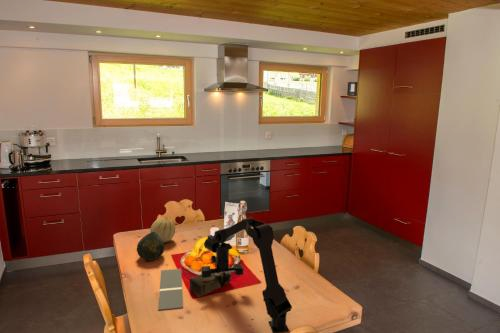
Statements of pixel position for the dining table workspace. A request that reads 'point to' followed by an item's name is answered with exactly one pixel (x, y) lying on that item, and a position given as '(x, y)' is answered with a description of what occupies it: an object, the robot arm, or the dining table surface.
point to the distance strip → (170, 290)
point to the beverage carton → (205, 284)
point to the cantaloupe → (163, 229)
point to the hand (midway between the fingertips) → (221, 287)
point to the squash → (150, 247)
